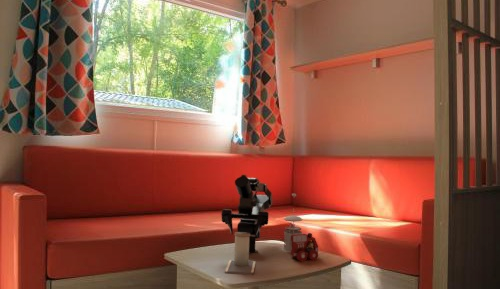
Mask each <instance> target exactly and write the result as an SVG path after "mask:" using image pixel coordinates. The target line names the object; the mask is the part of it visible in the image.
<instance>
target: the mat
mask: <svg viewBox="0 0 500 289" xmlns="http://www.w3.org/2000/svg"><path fill="white" fill-rule="evenodd" d="M255 267H256V260H255V261H254V260H251V261H250V260H249V264H248V265H247V266H237V265H234V260H232V259H229V261H228V263H227V266H226V267H225V271H224V273H225V274H237V275H238V274H241V275H243V274H244V275H254V272H255Z"/></svg>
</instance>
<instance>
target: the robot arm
mask: <svg viewBox="0 0 500 289" xmlns="http://www.w3.org/2000/svg"><path fill="white" fill-rule="evenodd" d="M234 184H235V188H236V191H237V194H238V195H239V198H238V199H239V203H238V204H237V205H238V206H237V212H233V210H232V209H226V208H223V209H222V210H221V215H220V216H221V223H224V224H225V225H227V227H228V229H229V231H230V234H231V235H233V234H234V231H233V229H234V228H233V219H237V220H239V219H240V220H239V222H238V223H237V226H236V227H237V228H236V230H237V232H247V233H250V236H249V254H251V253H252V254H253V253H259V250H257V249H256V240H257V239H260V238H261V228H262V227H265V226H267V225H268V224H269V212H268V211H265V210H269V209H270V208H271V206H272V205H273V201H274V200H273V193H272V192H271V190H269V189H270V188H268V184H267V183H263V182H260V180H259V178H257V177H248V176H247V174H241V176H239V177H237V178H236V179H235V181H234ZM257 192H260V193H261V192H262V193H264V194H257Z"/></svg>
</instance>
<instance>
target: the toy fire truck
mask: <svg viewBox="0 0 500 289" xmlns="http://www.w3.org/2000/svg"><path fill="white" fill-rule="evenodd" d="M291 242H292V250H291V253H290V256H291V257H292V258H293V259H297V261H299V262H304V261H306V260H307V258H308V259H309V260H310V261H313V260H314V261H317V259H318V257H319V245H318V242H317V240H316V238H315V237H314V236H313V233H311V232H309V233H307V234H306V233H302V234H292V235H291Z"/></svg>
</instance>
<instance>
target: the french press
mask: <svg viewBox="0 0 500 289" xmlns="http://www.w3.org/2000/svg"><path fill="white" fill-rule="evenodd" d="M291 196H292V197H297V194H296V193H291ZM283 219H284V221H287V222H292V224H291V223H290V224H289V226H286V227H285V230H284V231H283V233H284V234H283V237H284V238H283V247H282V248H281V251H282V252H284V253H289V254H291V250H292V242H291V235H292V234H303V231H301V230H302V228H301V227H299V226H295V225H296V224H295V222H301V221H303V218H302V217H300V216H298V215H295V209H293V214H292V215H287V216H286V217H284V218H283Z"/></svg>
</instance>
